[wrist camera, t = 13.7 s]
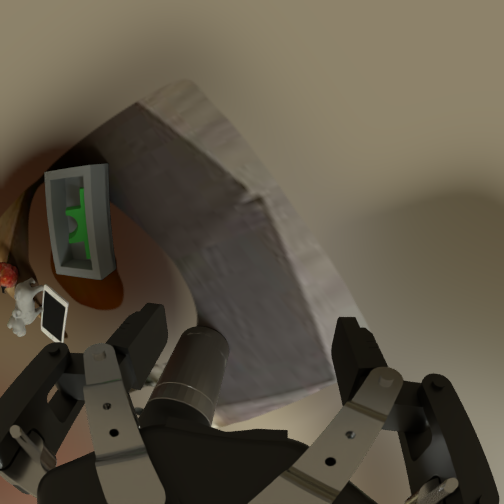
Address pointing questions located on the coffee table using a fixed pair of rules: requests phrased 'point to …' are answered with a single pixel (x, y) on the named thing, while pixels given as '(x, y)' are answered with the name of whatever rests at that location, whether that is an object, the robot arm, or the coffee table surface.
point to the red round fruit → (8, 275)
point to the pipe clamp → (79, 223)
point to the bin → (97, 219)
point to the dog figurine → (24, 307)
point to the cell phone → (53, 314)
